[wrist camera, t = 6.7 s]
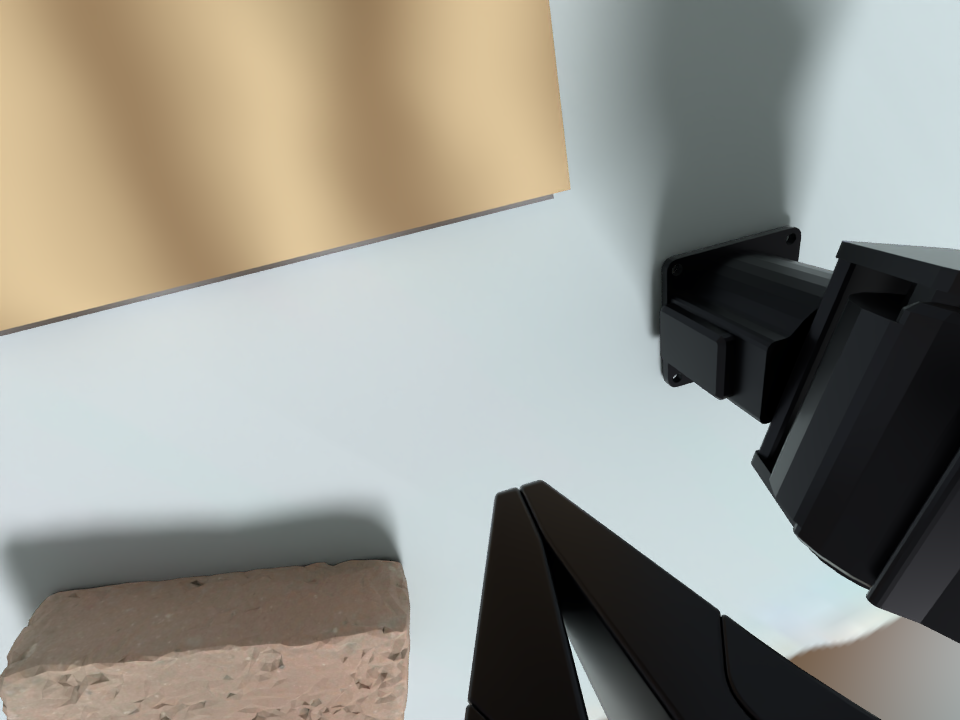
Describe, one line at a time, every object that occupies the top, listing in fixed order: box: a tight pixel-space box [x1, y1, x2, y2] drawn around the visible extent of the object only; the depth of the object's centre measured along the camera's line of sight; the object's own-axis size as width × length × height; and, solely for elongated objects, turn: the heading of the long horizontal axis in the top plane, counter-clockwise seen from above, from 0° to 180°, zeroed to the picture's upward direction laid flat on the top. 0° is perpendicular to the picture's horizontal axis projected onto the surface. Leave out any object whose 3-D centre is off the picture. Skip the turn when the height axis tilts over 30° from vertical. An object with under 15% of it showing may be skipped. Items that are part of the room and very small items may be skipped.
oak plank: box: [0, 0, 570, 331], centre depth 12 cm, size 22×10×2 cm, turn 102°
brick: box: [0, 560, 410, 720], centre depth 22 cm, size 16×8×5 cm, turn 85°
